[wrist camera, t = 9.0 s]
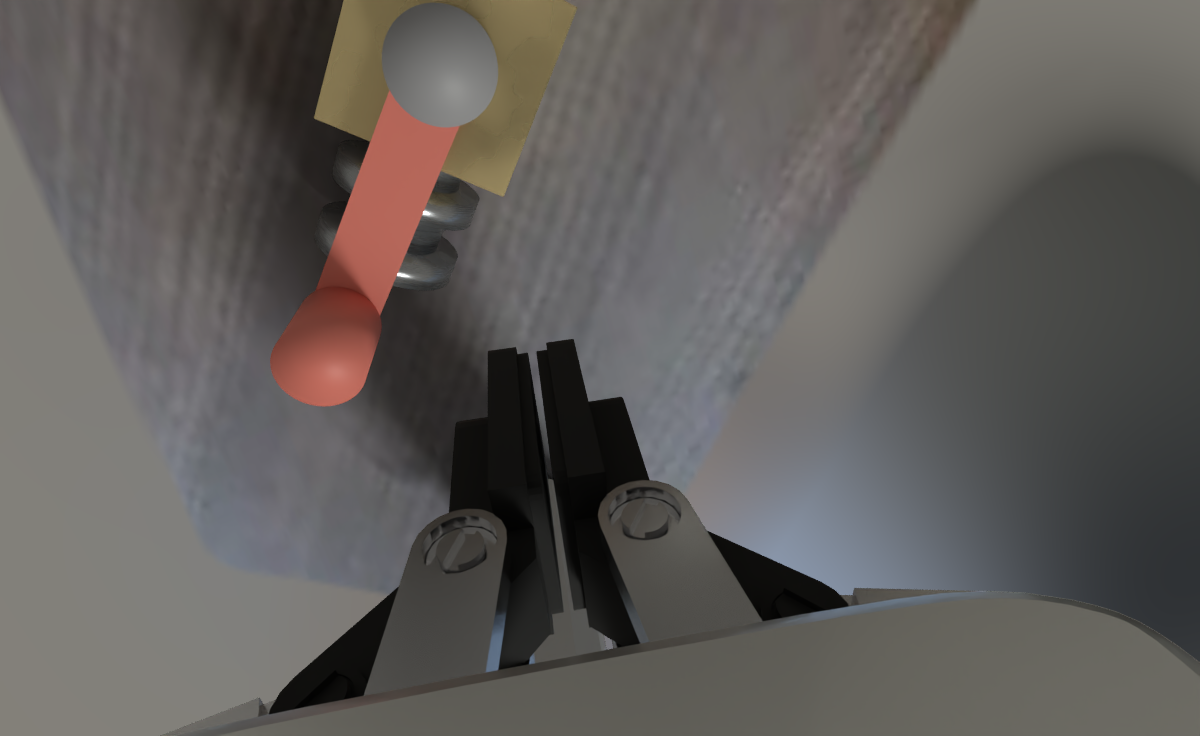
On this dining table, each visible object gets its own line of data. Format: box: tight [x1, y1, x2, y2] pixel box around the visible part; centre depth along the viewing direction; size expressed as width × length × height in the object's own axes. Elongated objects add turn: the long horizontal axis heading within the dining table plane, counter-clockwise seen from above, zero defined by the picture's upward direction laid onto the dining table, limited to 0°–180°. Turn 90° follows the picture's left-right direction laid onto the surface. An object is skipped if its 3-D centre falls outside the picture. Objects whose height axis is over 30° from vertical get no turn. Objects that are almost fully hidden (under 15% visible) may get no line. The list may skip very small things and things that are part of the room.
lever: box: [270, 3, 498, 406], centre depth 21 cm, size 13×4×5 cm, turn 151°
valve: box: [314, 0, 577, 290], centre depth 25 cm, size 18×7×7 cm, turn 155°
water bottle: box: [534, 479, 607, 663], centre depth 30 cm, size 9×8×25 cm
